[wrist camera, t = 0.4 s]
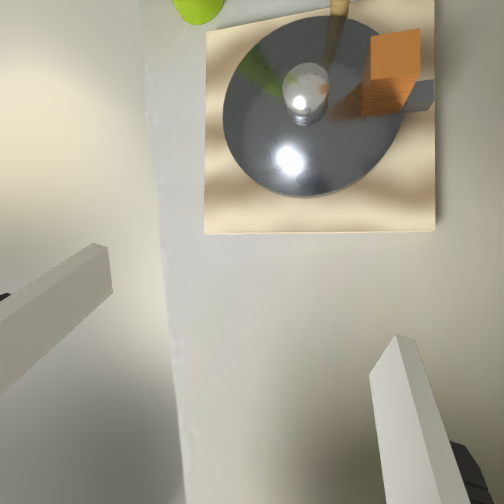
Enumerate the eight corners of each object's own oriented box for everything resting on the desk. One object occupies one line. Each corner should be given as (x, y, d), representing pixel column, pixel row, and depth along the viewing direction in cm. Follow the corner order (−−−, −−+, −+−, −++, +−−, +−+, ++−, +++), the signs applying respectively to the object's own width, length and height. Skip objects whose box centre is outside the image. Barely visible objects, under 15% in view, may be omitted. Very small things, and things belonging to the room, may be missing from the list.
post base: (429, 231, 26) (459, 224, 20) (209, 234, 32) (183, 228, 26) (428, 0, 27) (457, -72, 21) (212, 42, 32) (187, -6, 26)
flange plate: (226, 201, 28) (198, 185, 22) (228, 45, 29) (201, -15, 22) (427, 193, 24) (465, 169, 17) (427, 8, 24) (463, -81, 18)
